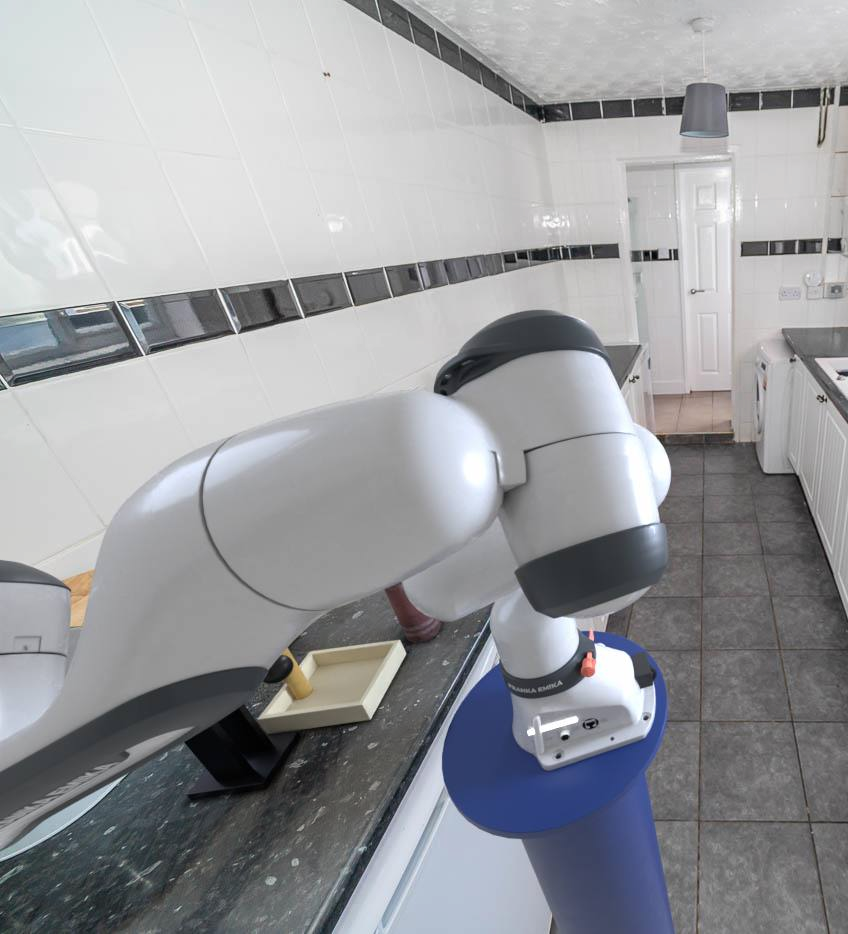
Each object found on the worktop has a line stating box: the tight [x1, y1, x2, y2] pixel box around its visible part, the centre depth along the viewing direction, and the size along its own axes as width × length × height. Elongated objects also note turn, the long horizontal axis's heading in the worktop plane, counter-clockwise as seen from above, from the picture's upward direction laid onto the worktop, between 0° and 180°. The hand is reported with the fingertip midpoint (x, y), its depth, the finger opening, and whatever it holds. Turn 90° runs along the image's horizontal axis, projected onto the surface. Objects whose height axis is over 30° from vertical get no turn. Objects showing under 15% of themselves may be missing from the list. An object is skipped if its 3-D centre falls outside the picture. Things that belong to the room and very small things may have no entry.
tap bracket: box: [183, 703, 302, 801], centre depth 68 cm, size 10×8×14 cm
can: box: [383, 582, 442, 644], centre depth 91 cm, size 6×6×14 cm
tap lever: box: [261, 655, 294, 685], centre depth 65 cm, size 16×4×4 cm, turn 96°
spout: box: [281, 647, 313, 700], centre depth 78 cm, size 8×2×18 cm, turn 97°
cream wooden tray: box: [256, 639, 407, 735], centre depth 82 cm, size 16×14×4 cm
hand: (152, 670), depth 49 cm, fingers closed
